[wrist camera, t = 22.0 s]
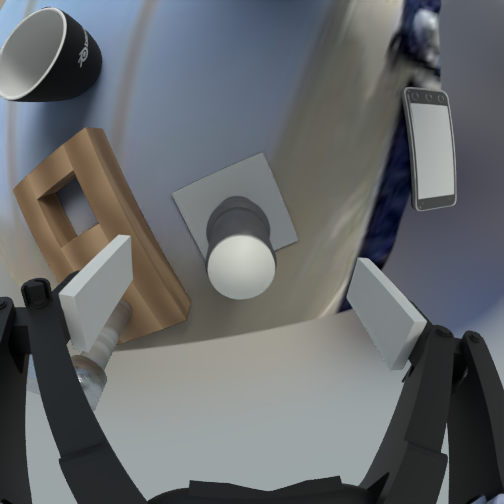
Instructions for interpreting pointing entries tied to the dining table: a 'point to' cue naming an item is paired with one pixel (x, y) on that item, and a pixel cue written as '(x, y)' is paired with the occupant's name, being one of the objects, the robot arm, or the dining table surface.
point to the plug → (239, 249)
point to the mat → (236, 184)
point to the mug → (48, 59)
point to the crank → (87, 373)
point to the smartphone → (430, 148)
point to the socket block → (102, 238)
